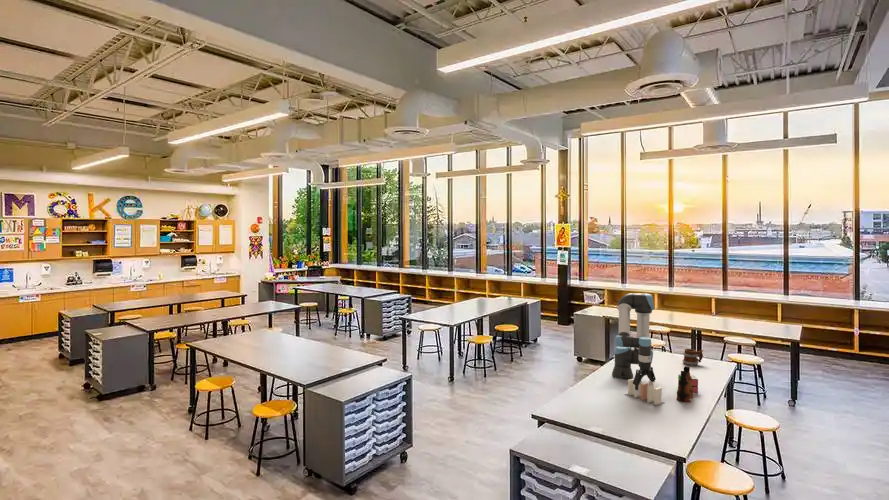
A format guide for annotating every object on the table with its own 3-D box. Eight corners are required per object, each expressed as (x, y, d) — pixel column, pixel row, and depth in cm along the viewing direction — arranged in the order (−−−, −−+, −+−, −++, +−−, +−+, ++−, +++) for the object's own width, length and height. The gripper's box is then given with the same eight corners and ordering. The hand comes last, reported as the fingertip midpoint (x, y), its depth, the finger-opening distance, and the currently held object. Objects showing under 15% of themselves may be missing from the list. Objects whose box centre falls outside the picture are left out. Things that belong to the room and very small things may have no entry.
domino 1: (627, 394, 319) (628, 379, 318) (632, 393, 321) (632, 378, 321) (629, 395, 317) (630, 380, 317) (634, 393, 320) (634, 379, 319)
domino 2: (634, 396, 314) (634, 382, 314) (639, 395, 317) (639, 380, 316) (636, 397, 313) (636, 382, 313) (641, 396, 316) (641, 381, 315)
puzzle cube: (698, 393, 321) (698, 379, 320) (682, 392, 323) (682, 378, 322) (693, 388, 331) (693, 374, 330) (677, 387, 333) (678, 374, 332)
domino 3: (647, 401, 306) (647, 386, 305) (652, 400, 308) (652, 385, 308) (649, 402, 304) (649, 387, 304) (654, 400, 307) (654, 385, 306)
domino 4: (654, 403, 302) (654, 388, 301) (659, 402, 304) (659, 387, 304) (656, 404, 300) (656, 389, 300) (661, 403, 303) (661, 387, 302)
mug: (681, 360, 398) (685, 343, 396) (700, 365, 392) (704, 348, 390) (680, 364, 388) (684, 347, 386) (700, 369, 381) (704, 352, 379)
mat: (623, 395, 319) (623, 394, 319) (633, 392, 324) (633, 391, 324) (655, 406, 298) (655, 406, 298) (665, 403, 303) (665, 403, 303)
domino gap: (640, 399, 310) (640, 384, 310) (645, 397, 313) (645, 382, 312) (642, 399, 309) (642, 384, 308) (647, 398, 311) (647, 383, 311)
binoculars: (680, 393, 321) (681, 364, 320) (694, 395, 317) (694, 366, 316) (675, 401, 307) (675, 371, 306) (689, 404, 302) (689, 373, 301)
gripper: (637, 365, 300) (636, 398, 301) (661, 359, 313) (661, 391, 314) (627, 362, 306) (626, 394, 308) (651, 356, 319) (651, 387, 320)
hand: (644, 392), depth 311 cm, fingers open, 13 cm apart
